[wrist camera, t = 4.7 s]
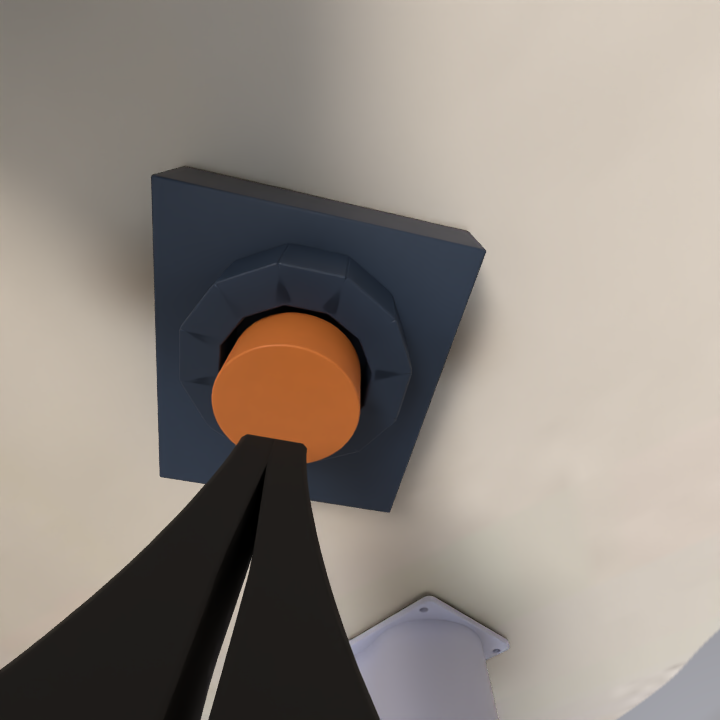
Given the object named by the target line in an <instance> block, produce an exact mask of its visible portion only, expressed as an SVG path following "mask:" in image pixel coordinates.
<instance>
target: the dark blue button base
mask: <svg viewBox="0 0 720 720" xmlns="http://www.w3.org/2000/svg"><path fill="white" fill-rule="evenodd" d="M151 189H152V224H153V259H154V293H155V328H156V363H157V397H158V432H159V467H160V477H164V478H170V479H177V480H183V481H189V482H196V483H202V484H206V483H207V482H208V481H209V480H210V478H211V477H212V476H213V475H214V474H215V472H216V471H217V470H218V469H219V467H220V466H221V465H222V464H223V462H224V461H225V460H226V459H227V457H228V456H229V455H230V453H231V452H232V450H233V449H234V448H235V446H236V445H235V444H234V443H233V442H232V441H231V440H230V439H229V438H228V437H227V436H226V435H225V434H224V432H223V431H222V429H221V428H220V426H219V424H218V423H217V421H216V418H215V415H214V413H213V407H212V388H213V385H214V382H215V379H216V377H217V375H218V373H219V371H220V370H221V368H222V366H223V364H224V363H225V361H226V359H227V357H228V356H229V354H230V352H231V350H232V349H233V347H234V345H235V343H236V342H237V340H238V338H239V337H240V335H241V334H242V333H243V332H244V331H245V330H246V329H247V328H248V327H249V326H250V325H252V324H253V323H254V322H256V321H258V320H260V319H262V318H264V317H267V316H269V315H273V314H277V313H285V312H298V313H305V314H309V315H313V316H316V317H319V318H321V319H324V320H325V321H327V322H329V323H331V324H332V325H334V326H335V327H337V328H338V329H339V330H340V331H341V332H342V333H344V334H345V335H346V337H347V338H348V339H349V340H350V342H351V343H352V345H353V346H354V348H355V350H356V352H357V355H358V358H359V361H360V368H361V385H360V417H359V422H358V425H357V428H356V430H355V432H354V434H353V435H352V437H351V438H350V439H349V441H348V442H347V443H346V444H345V445H344V446H343V447H342V448H341V449H339V450H338V451H337V452H335V453H334V454H332V455H330V456H328V457H326V458H324V459H321V460H318V461H315V462H311V463H307V479H308V487H309V495H310V500H311V501H317V502H324V503H330V504H336V505H343V506H349V507H356V508H362V509H368V510H375V511H381V512H388V513H389V512H390V510H391V508H392V505H393V502H394V500H395V497H396V494H397V492H398V489H399V486H400V483H401V481H402V478H403V475H404V473H405V470H406V467H407V464H408V462H409V459H410V456H411V454H412V451H413V448H414V446H415V443H416V440H417V437H418V435H419V432H420V429H421V427H422V424H423V421H424V418H425V416H426V413H427V410H428V408H429V405H430V402H431V399H432V397H433V394H434V391H435V389H436V386H437V383H438V381H439V378H440V375H441V372H442V370H443V367H444V364H445V362H446V359H447V356H448V353H449V351H450V348H451V345H452V343H453V340H454V337H455V335H456V332H457V329H458V326H459V324H460V321H461V318H462V316H463V313H464V310H465V307H466V305H467V302H468V299H469V297H470V294H471V291H472V288H473V286H474V283H475V280H476V278H477V275H478V272H479V270H480V267H481V264H482V261H483V259H484V256H485V253H486V250H485V249H484V248H483V247H482V246H481V244H480V243H479V242H478V241H477V240H476V239H475V238H474V237H473V236H472V235H471V234H470V233H469V232H468V231H465V230H461V229H456V228H452V227H448V226H443V225H439V224H434V223H430V222H426V221H421V220H417V219H413V218H408V217H404V216H400V215H395V214H391V213H386V212H382V211H378V210H373V209H369V208H365V207H360V206H356V205H352V204H347V203H343V202H339V201H334V200H330V199H325V198H321V197H317V196H312V195H308V194H304V193H299V192H295V191H291V190H286V189H282V188H278V187H273V186H269V185H264V184H260V183H256V182H251V181H247V180H243V179H238V178H234V177H230V176H225V175H221V174H216V173H212V172H208V171H203V170H199V169H195V168H190V167H186V166H183V167H179V168H176V169H172V170H168V171H165V172H161V173H157V174H153V175H152V176H151Z"/></svg>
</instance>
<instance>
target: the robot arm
mask: <svg viewBox="0 0 720 720" xmlns="http://www.w3.org/2000/svg"><path fill="white" fill-rule="evenodd" d="M252 555H253V556H252ZM251 558H252V560H251ZM250 561H251V565H250V570H249V575H248V579H247V582H246V586H245V590H244V593H243V597H242V601H241V604H240V608H239V612H238V615H237V619H236V623H235V626H234V630H233V634H232V637H231V641H230V645H229V648H228V652H227V655H226V659H225V663H224V666H223V670H222V673H221V677H220V681H219V684H218V688H217V691H216V695H215V699H214V702H213V706H212V709H211V713H210V716H209V720H499V718H498V713H497V709H496V704H495V700H494V695H493V691H492V687H491V682H490V678H489V673H488V669H487V664H486V660H487V659H490V658H492V657H494V656H496V655H498V654H500V653H502V652H504V651H506V650H508V649H509V647H510V646H509V642H508V640H507V639H505V638H504V637H502V636H500V635H499V634H497V633H495V632H493V631H492V630H490V629H488V628H487V627H485V626H483V625H481V624H480V623H478V622H476V621H475V620H473V619H471V618H469V617H468V616H466V615H464V614H463V613H461V612H459V611H458V610H456V609H454V608H452V607H451V606H449V605H447V604H446V603H444V602H442V601H440V600H439V599H437V598H435V597H433V596H425V597H423V598H421V599H420V600H418V601H416V602H415V603H413V604H411V605H409V606H408V607H406V608H404V609H403V610H401V611H399V612H397V613H396V614H394V615H392V616H391V617H389V618H387V619H386V620H384V621H382V622H380V623H379V624H377V625H375V626H374V627H372V628H370V629H369V630H367V631H365V632H363V633H362V634H360V635H358V636H357V637H355V638H353V639H351V640H350V641H348V638H347V635H346V632H345V629H344V627H343V624H342V621H341V618H340V615H339V612H338V609H337V606H336V603H335V599H334V596H333V593H332V590H331V586H330V583H329V580H328V576H327V572H326V569H325V565H324V561H323V557H322V554H321V550H320V546H319V541H318V537H317V532H316V527H315V523H314V518H313V513H312V508H311V501H310V495H309V487H308V479H307V448H306V446H305V445H304V444H303V443H297V442H291V441H285V440H280V439H274V438H268V437H262V436H256V435H250V434H246V435H245V436H243V437H241V439H240V440H239V442H238V443H237V445H236V446H235V448H234V449H233V450H232V452H231V453H230V455H229V456H228V457H227V459H226V460H225V461H224V462H223V464H222V465H221V466H220V467H219V469H218V470H217V471H216V472H215V474H214V475H213V476H212V477H211V478H210V480H209V481H208V482H207V483H206V484H205V485H204V486H203V488H202V489H201V490H200V491H199V492H198V493H197V494H196V496H195V497H194V498H193V499H192V500H191V501H190V502H189V503H188V505H187V506H186V507H185V508H184V509H183V510H182V511H181V512H180V513H179V514H178V515H177V516H176V517H175V518H174V519H173V520H172V521H171V522H170V523H169V524H168V525H167V526H166V527H165V528H164V529H163V530H162V531H161V532H160V533H159V534H158V535H157V536H156V538H155V539H154V540H153V541H152V542H151V543H150V544H149V545H148V546H147V547H146V548H144V549H143V550H142V551H141V552H140V553H139V554H138V555H137V556H136V557H135V558H134V559H133V560H132V561H131V562H130V563H129V564H128V565H126V566H125V567H124V568H123V569H122V570H121V571H120V572H119V573H118V574H117V575H115V576H114V577H113V578H112V579H111V580H110V581H109V582H108V583H106V584H105V585H104V586H103V587H102V588H101V589H100V590H98V591H97V592H96V593H95V594H94V595H93V596H92V597H90V598H89V599H88V600H87V601H86V602H84V603H83V604H82V605H81V606H80V607H78V608H77V609H76V610H75V611H74V612H72V613H71V614H70V615H69V616H68V617H66V618H65V619H64V620H63V621H62V622H60V623H59V624H58V625H57V626H56V627H54V628H53V629H52V630H51V631H49V632H48V633H47V634H46V635H45V636H43V637H42V638H41V639H40V640H38V641H37V642H36V643H34V644H33V645H32V646H31V647H29V648H28V649H27V650H26V651H24V652H23V653H22V654H21V655H19V656H18V657H17V658H15V659H14V660H13V661H12V662H10V663H9V664H7V665H6V666H5V667H3V668H2V669H1V670H0V720H201V716H202V712H203V708H204V704H205V700H206V696H207V693H208V689H209V685H210V682H211V678H212V675H213V672H214V669H215V665H216V662H217V659H218V656H219V653H220V650H221V647H222V644H223V641H224V638H225V635H226V632H227V629H228V626H229V623H230V620H231V617H232V614H233V612H234V609H235V606H236V603H237V600H238V597H239V594H240V591H241V588H242V585H243V582H244V579H245V576H246V573H247V570H248V567H249V564H250Z"/></svg>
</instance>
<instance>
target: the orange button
mask: <svg viewBox="0 0 720 720" xmlns="http://www.w3.org/2000/svg"><path fill="white" fill-rule="evenodd" d="M360 385H361V368H360V361H359V358H358V355H357V352H356V350H355V348H354V346H353V345H352V343H351V342H350V340H349V339H348V338H347V337H346V335H345V334H344V333H342V332H341V331H340V330H339V329H338V328H337V327H335V326H334V325H332V324H331V323H329V322H327V321H325V320H324V319H321V318H319V317H316V316H313V315H309V314H305V313H298V312H285V313H277V314H273V315H269V316H267V317H264V318H262V319H260V320H258V321H256V322H254V323H253V324H252V325H250V326H249V327H248V328H247V329H246V330H245V331H244V332H243V333H242V334H241V335H240V337H239V338H238V340H237V342H236V343H235V345H234V347H233V349H232V350H231V352H230V354H229V356H228V357H227V359H226V361H225V363H224V364H223V366H222V368H221V370H220V371H219V373H218V375H217V377H216V379H215V382H214V385H213V388H212V407H213V413H214V415H215V418H216V421H217V423H218V424H219V426H220V428H221V429H222V431H223V432H224V434H225V435H226V436H227V437H228V438H229V439H230V440H231V441H232V442H233V443H234V444H235V445H237V443H238V442H239V440H240V439H241V437H243V436H245V435H246V434H250V435H256V436H262V437H268V438H274V439H280V440H285V441H291V442H297V443H303V444H304V445H305V446H306V448H307V463H311V462H315V461H318V460H321V459H324V458H326V457H328V456H330V455H332V454H334V453H335V452H337V451H338V450H339V449H341V448H342V447H343V446H344V445H345V444H346V443H347V442H348V441H349V439H350V438H351V437H352V435H353V434H354V432H355V430H356V428H357V425H358V422H359V417H360Z"/></svg>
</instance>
